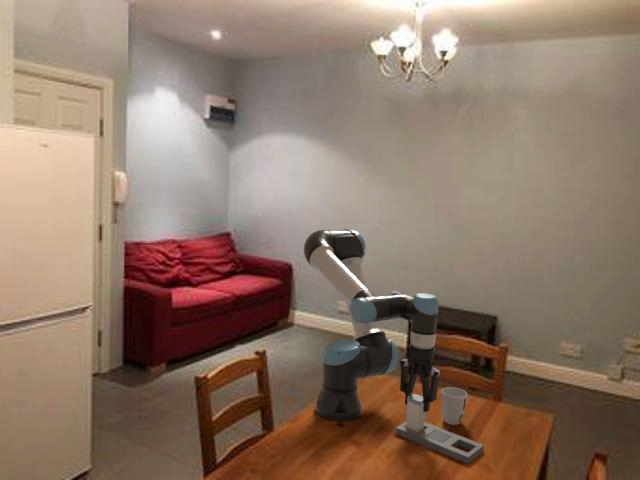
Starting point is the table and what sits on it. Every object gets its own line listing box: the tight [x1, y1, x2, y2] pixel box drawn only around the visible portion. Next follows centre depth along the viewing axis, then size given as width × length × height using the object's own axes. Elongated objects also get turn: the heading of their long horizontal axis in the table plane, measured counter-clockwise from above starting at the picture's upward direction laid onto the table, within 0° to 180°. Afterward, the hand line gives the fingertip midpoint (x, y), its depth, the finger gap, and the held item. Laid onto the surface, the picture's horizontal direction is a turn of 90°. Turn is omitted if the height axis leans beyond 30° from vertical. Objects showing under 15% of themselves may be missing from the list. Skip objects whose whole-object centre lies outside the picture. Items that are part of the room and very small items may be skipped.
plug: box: [405, 393, 426, 433], centre depth 169 cm, size 4×4×10 cm
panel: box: [395, 421, 485, 465], centre depth 165 cm, size 24×10×2 cm, turn 49°
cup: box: [441, 387, 468, 426], centre depth 179 cm, size 8×8×10 cm
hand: (415, 417), depth 170 cm, fingers closed on plug, 4 cm apart
